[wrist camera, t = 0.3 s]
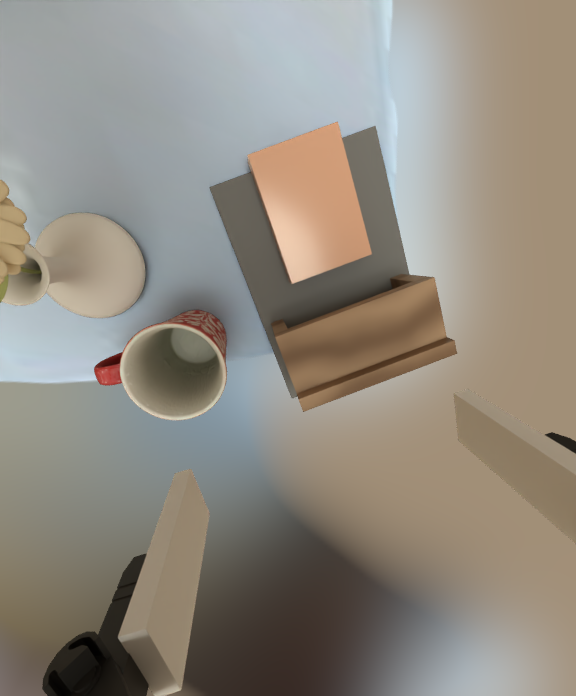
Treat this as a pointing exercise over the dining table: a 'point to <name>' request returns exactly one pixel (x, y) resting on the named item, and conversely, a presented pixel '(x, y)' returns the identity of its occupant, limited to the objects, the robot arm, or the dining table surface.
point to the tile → (311, 202)
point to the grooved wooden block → (365, 342)
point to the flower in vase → (69, 262)
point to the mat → (328, 287)
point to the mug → (172, 366)
